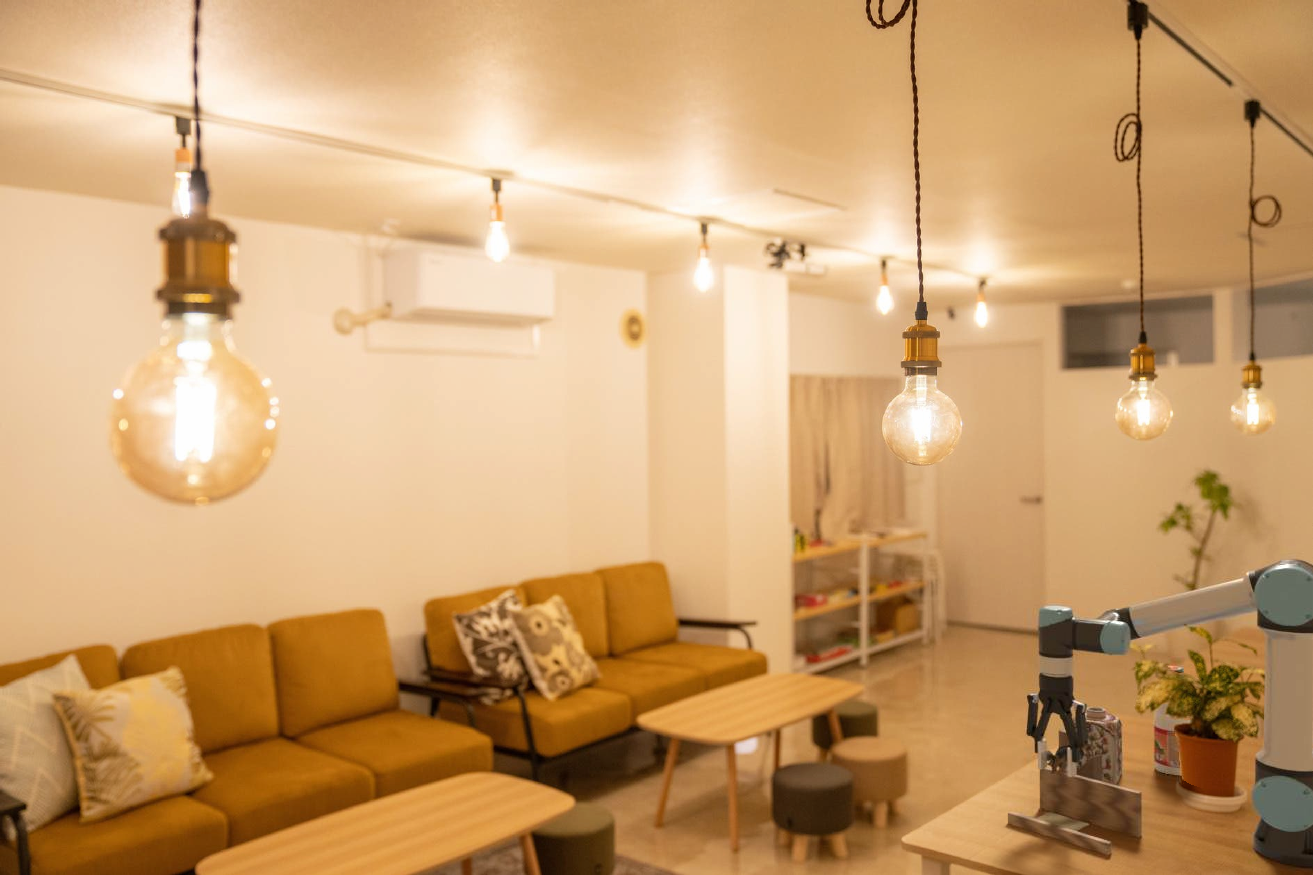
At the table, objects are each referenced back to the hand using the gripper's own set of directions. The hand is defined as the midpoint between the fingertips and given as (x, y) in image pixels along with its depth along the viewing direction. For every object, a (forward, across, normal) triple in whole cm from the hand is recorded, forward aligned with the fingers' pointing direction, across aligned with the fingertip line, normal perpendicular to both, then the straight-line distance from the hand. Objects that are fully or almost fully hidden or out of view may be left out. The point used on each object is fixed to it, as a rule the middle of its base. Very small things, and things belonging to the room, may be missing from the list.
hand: (1057, 771), depth 239 cm
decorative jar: (+13, +10, -40) cm, 43 cm away
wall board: (+13, -4, -1) cm, 13 cm away
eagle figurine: (+1, 0, -2) cm, 2 cm away
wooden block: (+13, +2, -15) cm, 20 cm away
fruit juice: (+13, -2, -59) cm, 60 cm away
